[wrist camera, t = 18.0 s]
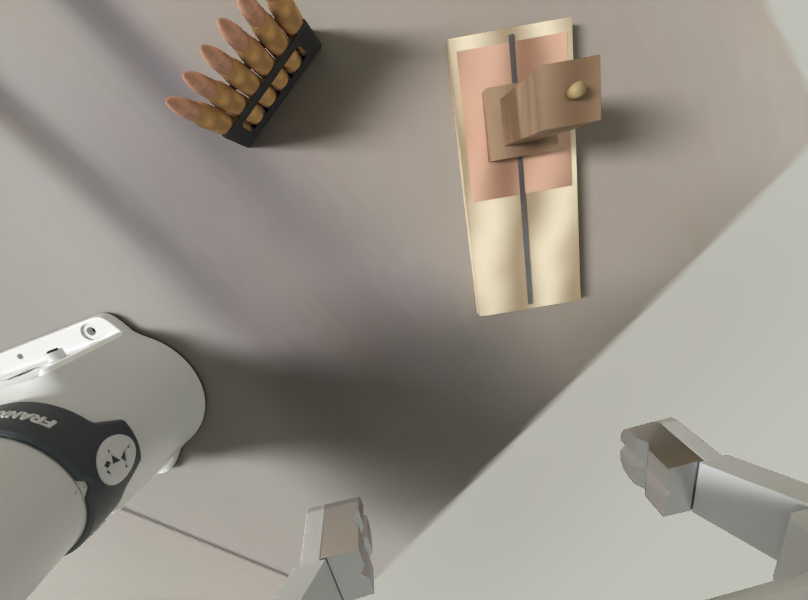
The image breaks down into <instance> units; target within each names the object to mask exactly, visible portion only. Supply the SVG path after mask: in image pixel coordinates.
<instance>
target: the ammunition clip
mask: <svg viewBox="0 0 808 600" xmlns="http://www.w3.org/2000/svg"><path fill="white" fill-rule="evenodd" d="M266 1H267V4H268V7H269V10H270V11H271V13H272V14H273V16H274V17H275V19H274V18H273V17H272V16H271V15H270V14H268V13H267V12H266V11H265V10H264V9H263V8H262V7H261V6H260V5H259V3H258V2H257V1H256V0H236V2H237V5H238V7H239V10H240V11H241V13H242V15H243V16H244V17H245V19H246V20H247V22H248V23H249V25H250V26H251V27H252V30H253V32H254V34H255V35H256V37H257V38H258V39H259V40H260V41H259V42H258V41H257V40H256V39H255V38H253V37H252V36H250V35H248V34H247V33H246V32H245V31H243V30H242V29H241V28H240V27H239V26H238V25H236V24H235V23H234V22H232V21H230V20H228V19H225V18H218V19H217V26H218V28H219V30H220V32H221V34H222V36H223V37H224V38H225V40H226V41H227V42H228V43H229V45H231V46H232V48H233V49H234V50H235V51H236V52H237V54H238V56H239V57H240V58H241V60H242V61H243V62H244V64H243V63H242V62H240V61H239V60H237V59H235V58H232V57H230V56H229V55H227V54H225V53H224V52H223V51H221V50H219V49H218V48H216V47H213V46H210V45H201V46H200V47H199V49H200V53H201V55H202V56H203V58H204V59H205V61H206V62H207V63H208V64H209V65H210V66H211V67H212V68H213V69H214V70H216V71H217V72H218V73H219V74H220V75H221V76H222V77H223V78H224V79H225V80H226V82H228V83H229V84H230V85H229V86H228V85H226V84H225V83H223V82H221V81H216V80H214V79H212V78H209V77H207V76H205V75H203V74H200V73H197V72H193V71H186V72H183V73H182V77H183V79H184V81H185V82H186V83H187V85H188V86H189V87H190V88H191V89H192V90H194V91H195V92H197V93H198V94H200V95H202V96H203V97H204V98H206V99H208V100H209V101H210V102H211V103H212V104H213V105H215V107H213V106H211V105H209V104H206V103H201V102H196V101H192V100H190V99H187V98H182V97H168V98H166V99H165V102H166V104H167V106H168V107H169V108H170V109H171V110H172V111H173V112H175V113H176V114H178V115H180V116H181V117H183V118H185V119H188V120H190V121H192V122H194V123H195V124H197V125H198V126H200V127H202V128H204V129H207V130H210V131H213V132H216V133H219V134H222V136H223V137H225V138H227V139H229V140H231V141H234V142H236V143H238V144H240V145H243V146H245V147H247V148H249V147H250V146H251V144H252V143H253V141H254V140H255V139H256V137H257V136H258V134H259V133H260V132H261V130H262V129H263V128H264V126H265V125H266V123H267V122H268V121H269V119H270V118H271V116H272V115H273V114H274V112H275V111H276V110H277V108H278V107H279V105H280V104H281V103H282V101H283V100H284V98H285V97H286V96H287V94H288V93H289V91H290V90H291V89H292V87H293V86H294V85H295V83H296V82H297V80H298V79H299V78H300V76H301V75H302V73H303V72H304V71H305V69H306V68H307V66H308V65H309V64H310V62H311V61H312V60H313V58H314V57H315V55H316V54H317V53H318V51H319V50H320V48H321V43H320V42H319V40H318V39H317V37H316V36H315V34H314V32H313V31H312V29H311V28H310V26H309V25H308V23H307V22H306V21H305V20H304V19H303V18H302V16H301V14H300V12H299V10H298V8H297V7H296V5H295V3H294V1H293V0H266ZM282 30H283V31H284V32H285V34H286V35H287V36H286V35H285V34H284V32H283V31H282ZM287 37H288V38H289V39H288V38H287ZM265 47H266V48H267V50H268V51H269V52H270V53H271V54H272V55H273V56H274V58H275V59H274V58H273V57H272V56H271V55H270V54H269V53H268V52H267V50H266V49H265ZM250 69H252V70H254V71H255V72H256V73H257V74H258V75H259V76H260V77H261V78H262V79H261V78H260V77H259V76H258V75H256V74H255V73H254V72H253V71H251V70H250ZM236 89H238V90H239V91H241V92H242V93H244V94H245V95H247V96H248V97H249V98H247V97H246V96H244V95H242V94H241V93H239V92H238V91H236ZM227 112H228V113H227ZM229 113H231V114H233V115H235V116H233V115H231V114H229Z"/></svg>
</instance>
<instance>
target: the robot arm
mask: <svg viewBox="0 0 808 600" xmlns="http://www.w3.org/2000/svg"><path fill="white" fill-rule="evenodd" d="M92 328H94V329H95V331H96V332H94V331H93V329H92ZM204 413H205V396H204V392H203V388H202V385H201V383H200V381H199V379H198V377H197V375H196V373H195V372H194V370H193V369H192V367H191V366H190V365H189V364H188V363H187V362H186V360H184V359H183V358H182V357H181V356H180V355H179V354H178V353H177V352H175V351H174V350H173V349H171V348H170V347H168V346H166V345H165V344H163V343H161V342H159V341H156V340H154V339H151V338H149V337H146V336H143V335H141V334H138V333H136V332H134V331H133V330H131V329H130V328H129V327H128V326H127V325H125V324H124V323H123V322H122V321H120V320H119V319H118V318H116V317H114V316H113V315H111V314H108V313H101V314H98V315H95V316H92V317H90V318H87V319H85V320H82V321H80V322H77V323H74V324H72V325H69V326H67V327H64V328H62V329H59V330H57V331H54V332H51V333H49V334H46V335H44V336H41V337H39V338H36V339H34V340H31V341H28V342H26V343H23V344H21V345H18V346H16V347H13V348H10V349H8V350H5V351H3V352H0V600H26V599H27V598H28V597H29V595H30V594H31V593H32V592H33V591H34V590H35V588H36V587H37V586H38V585H39V584H40V583H41V582H42V580H43V579H44V578H45V577H46V576H47V575H48V573H49V572H50V571H51V570H52V569H53V568H54V567H55V565H56V564H57V563H58V562H59V561H60V560H61V559H62V558H63V556H65V555H67V554H69V553H71V552H73V551H74V550H76V549H77V548H78V547H79V546H80V545H81V544H82V543H83V542H84V541H85V540H86V539H87V538H89V537H90V536H91V535H93V533H94V532H96V531H97V530H98V529H99V527H100V526H101V525H102V524H103V523H104V522H105V521H106V520H105V519H106V518H107V517H108V515H109V514H110V513H115V512H117V511H118V510H120V509H121V508H122V507H123V506H124V505H125V504H126V503H127V502H129V501H130V500H131V499H132V498H133V497H134V496H135V495H136V494H137V493H138V492H139V491H140V490H141V489H142V488H143V487H144V486H145V485H146V484H147V483H148V482H149V481H150V480H151V479H152V478H153V477H154V476H155V475H156V474H162V473H166V472H167V471H169V470H170V469H171V468H172V467H173V466H174V464H175V463H176V461H177V459H178V456H179V452H180V449H181V448H182V446H183V445H184V444H185V443H186V442H187V441H188V440H189V439H190V438H191V437H192V436H193V435H194V434H195V433H196V432H197V430H198V429H199V427H200V425H201V423H202V420H203V417H204ZM621 441H622V442H623V443H624V444H625V446H624V447H623V449H622V450H621V462H622V465H623V468H624V470H625V472H626V473H627V475H628V476H629V478H630V479H631V480H632V481H633V482H634V483H635V484H636V485H638V486H640V487H642V488H644V489H645V496H646V498H647V499H648V500H649V501H650V502H651V503H652V504H653V506H654V507H655V508H656V509H657V510H658V511H659V512H660V513H661V515H662V516H663V517H664V516H668V515H672V514H677V513H681V512H686V511H690V510H693V512H694V513H696V514H697V515H699V516H701V517H703V518H704V519H706V520H708V521H710V522H712V523H713V524H715V525H717V526H718V527H720V528H722V529H723V530H725V531H727V532H729V533H730V534H732V535H734V536H736V537H737V538H739V539H741V540H742V541H744V542H746V543H748V544H749V545H751V546H753V547H755V548H756V549H758V550H760V551H761V552H763V553H765V554H767V555H768V556H770V557H772V558H774V559H775V560H777V564H776V567H775V571H774V575H773V581H772V582H769V583H765V584H762V585H758V586H754V587H751V588H747V589H744V590H740V591H737V592H733V593H729V594H726V595H722V596H718V597H715V598H711V599H707V600H808V484H806V483H804V482H801V481H798V480H795V479H792V478H790V477H787V476H784V475H782V474H779V473H776V472H773V471H770V470H768V469H765V468H762V467H759V466H756V465H754V464H751V463H748V462H745V461H743V460H740V459H737V458H734V457H732V456H729V455H724V456H722V455H720V454H719V453H718V452H716V451H715V450H714V449H713V448H711V447H710V446H709V445H708V444H707V443H705V442H704V441H703V440H701V439H700V438H699V437H698V436H697V435H695V434H694V433H693V432H691V431H690V430H689V429H688V428H686V427H685V426H684V425H682V424H681V423H680V422H679V421H678V420H676V419H674V418H668V419H664V420H660V421H656V422H651V423H647V424H644V425H640V426H636V427H633V428H629V429H625V430H623V432H622V434H621ZM371 553H372V539H371V532H370V526H369V522H368V519H367V516H366V515H364V514H363V504H362V501H361V498H360V497H357V498H353V499H349V500H344V501H340V502H335V503H331V504H326V505H323V506H318V507H314V508H310V509H309V510H308V513H307V516H306V523H305V531H304V538H303V546H302V553H301V560H300V565H299V566H296V567H294V569H293V570H292V572H291V573H290V575H289V576H288V578H287V579H286V581H285V582H284V583H283V585H282V586H281V588H280V589H279V591H278V592H277V594H276V595H275V597H274V598H273V600H354V599H357V598H360V597H364V596H367V595H370V594H374V575H373V566H372V563H371V560H370V555H371Z"/></svg>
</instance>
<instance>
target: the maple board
mask: <svg viewBox="0 0 808 600" xmlns="http://www.w3.org/2000/svg"><path fill="white" fill-rule="evenodd" d="M446 50H447V59H448V68H449V76H450V85H451V93H452V102H453V111H454V119H455V128H456V136H457V145H458V154H459V162H460V171H461V179H462V188H463V197H464V205H465V214H466V222H467V231H468V240H469V248H470V257H471V265H472V274H473V283H474V291H475V300H476V308H477V313H478V314H479V316H480V317H481V316H487V315H493V314H499V313H505V312H511V311H517V310H523V309H529V308H535V307H541V306H547V305H553V304H559V303H565V302H571V301H577V300H581V292H580V260H579V228H578V195H577V163H576V130H575V129H573V130H570V131H567V132H564V133H561V134H558V150H554V151H550V152H544V153H538V154H533V155H527V156H521V157H516V158H510V159H504V160H498V161H493V162H488V152H487V141H486V130H485V120H484V109H483V99H482V92H483V91H484V90H485V89H486V88H490V87H495V86H501V85H507V84H512V83H518V82H521V81H523V80H524V79H525V78H526V77H527V76H528V75H530V74H531V73H532V72H533V71H534V70H535V69H537V68H538V67H539V66H540V65H545V64H551V63H556V62H562V61H567V60H573V33H572V17H568V18H562V19H557V20H551V21H546V22H540V23H535V24H529V25H524V26H518V27H513V28H507V29H502V30H496V31H491V32H485V33H480V34H474V35H469V36H463V37H458V38H452V39H448V42H447V45H446Z"/></svg>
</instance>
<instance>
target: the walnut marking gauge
mask: <svg viewBox="0 0 808 600" xmlns="http://www.w3.org/2000/svg"><path fill="white" fill-rule="evenodd" d="M482 99H483V109H484V120H485V130H486V141H487V152H488V162H493V161H498V160H504V159H510V158H516V157H521V156H527V155H533V154H538V153H544V152H550V151H554V150H558V134H561V133H564V132H567V131H570V130H573V129H576V128H579V127H582V126H585V125H588V124H591V123H594V122H596V121H599V120H601V74H600V55H595V56H590V57H584V58H579V59H573V60H567V61H562V62H556V63H551V64H545V65H540V66H539V67H538V68H537V69H535V70H534V71H533V72H532V73H531V74H530V75H528V76H527V77H526V78H525V79H524V80H523V81H521V82H518V83H512V84H507V85H501V86H495V87H490V88H486V89H485V90H484V91H483V92H482Z"/></svg>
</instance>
